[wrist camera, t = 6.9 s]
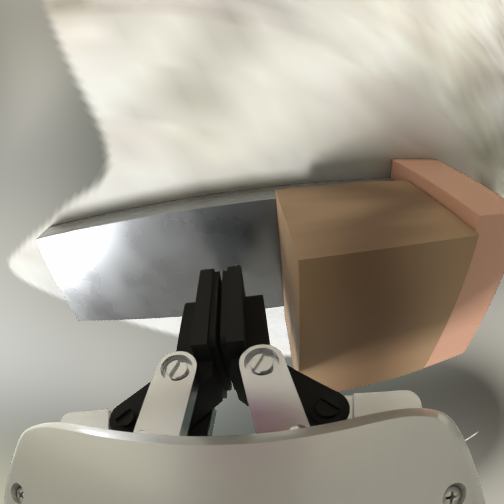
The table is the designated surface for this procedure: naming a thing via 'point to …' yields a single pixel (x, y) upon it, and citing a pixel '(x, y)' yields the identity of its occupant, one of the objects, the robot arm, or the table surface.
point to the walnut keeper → (368, 278)
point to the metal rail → (167, 253)
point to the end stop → (486, 252)
